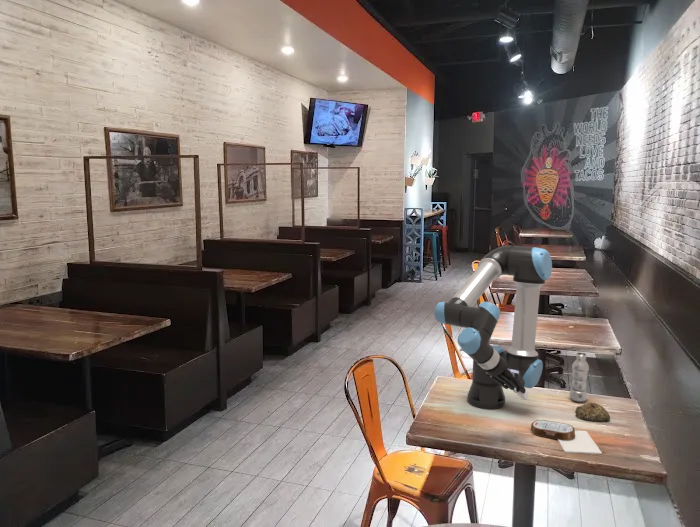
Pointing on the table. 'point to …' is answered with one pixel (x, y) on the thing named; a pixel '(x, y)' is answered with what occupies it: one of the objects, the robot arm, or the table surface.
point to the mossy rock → (592, 413)
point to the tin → (553, 430)
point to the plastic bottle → (579, 378)
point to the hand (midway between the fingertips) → (525, 396)
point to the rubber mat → (580, 444)
